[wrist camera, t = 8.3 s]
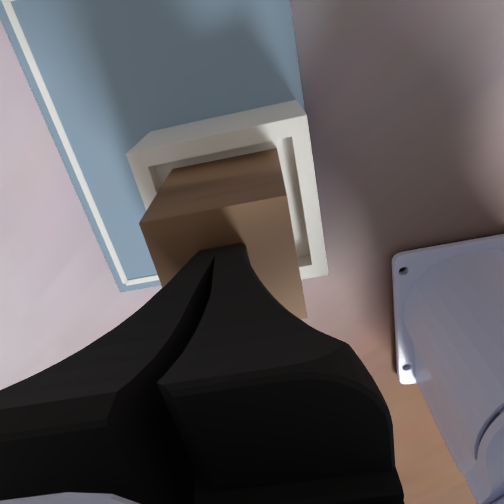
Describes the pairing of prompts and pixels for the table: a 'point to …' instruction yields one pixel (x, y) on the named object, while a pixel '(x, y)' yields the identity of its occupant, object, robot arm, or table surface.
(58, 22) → the blueprint board
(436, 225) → the table surface
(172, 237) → the walnut block
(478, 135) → the table surface
